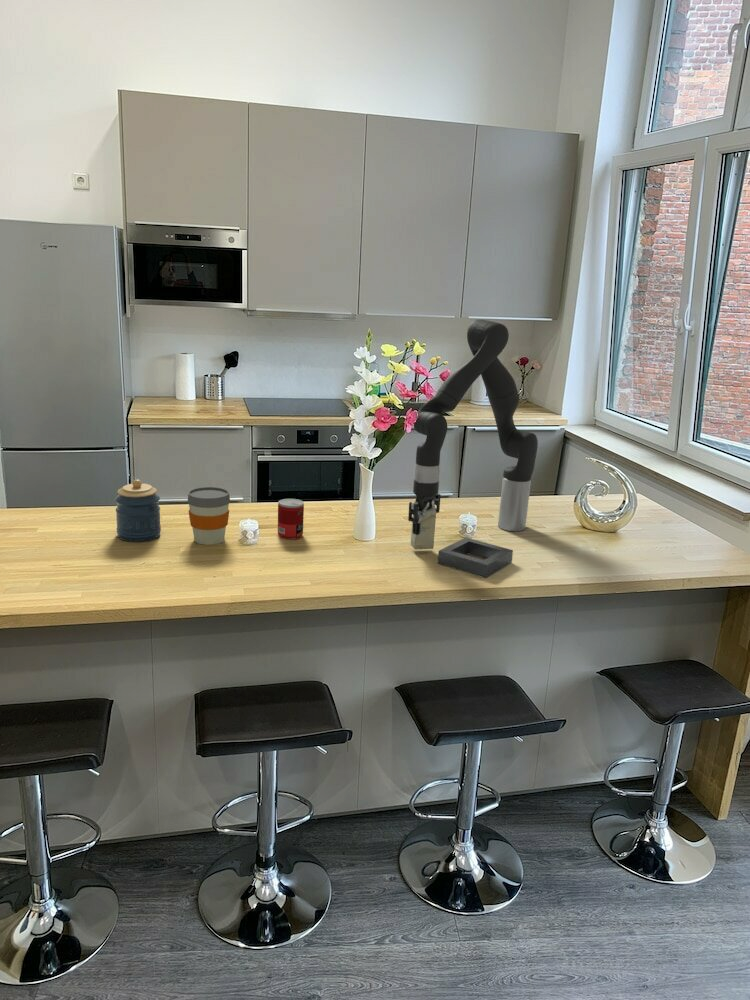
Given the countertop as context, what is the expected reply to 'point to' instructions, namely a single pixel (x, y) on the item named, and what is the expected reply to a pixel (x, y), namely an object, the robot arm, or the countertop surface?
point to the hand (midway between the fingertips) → (423, 530)
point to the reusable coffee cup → (208, 514)
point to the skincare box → (425, 531)
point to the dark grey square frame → (483, 568)
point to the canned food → (290, 518)
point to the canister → (138, 512)
